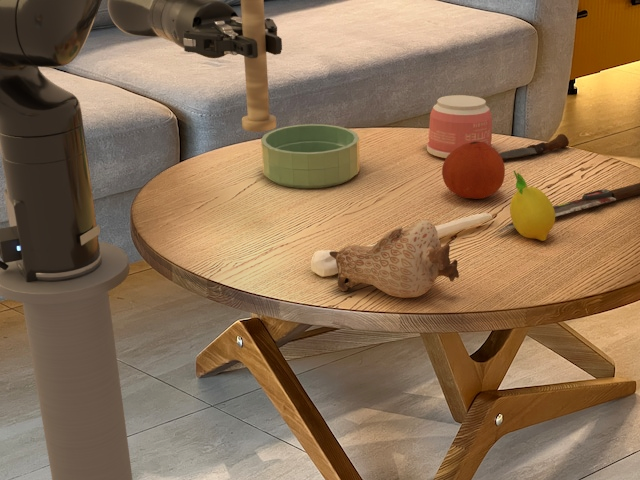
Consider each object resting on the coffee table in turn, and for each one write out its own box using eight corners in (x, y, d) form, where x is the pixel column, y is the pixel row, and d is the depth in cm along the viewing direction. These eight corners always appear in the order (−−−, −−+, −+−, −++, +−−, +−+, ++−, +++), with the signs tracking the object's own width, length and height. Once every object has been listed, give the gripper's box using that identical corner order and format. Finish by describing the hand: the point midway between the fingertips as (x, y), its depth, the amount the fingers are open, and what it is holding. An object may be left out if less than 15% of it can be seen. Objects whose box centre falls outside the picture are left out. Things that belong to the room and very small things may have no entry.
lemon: (547, 235, 136) (517, 162, 137) (512, 252, 140) (483, 181, 141) (575, 228, 141) (546, 157, 142) (541, 245, 145) (512, 176, 146)
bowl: (286, 196, 156) (284, 159, 154) (249, 167, 167) (246, 132, 165) (375, 179, 162) (375, 144, 160) (333, 152, 174) (333, 119, 171)
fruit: (450, 183, 161) (451, 130, 157) (509, 189, 158) (511, 135, 155) (433, 203, 153) (434, 148, 150) (495, 210, 151) (497, 154, 147)
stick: (249, 133, 139) (241, -11, 132) (237, 124, 143) (228, -17, 135) (281, 128, 141) (274, -14, 133) (268, 120, 145) (261, -20, 137)
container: (418, 104, 168) (417, 155, 171) (484, 111, 164) (482, 162, 168) (439, 90, 177) (438, 139, 180) (502, 96, 174) (500, 145, 177)
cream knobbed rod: (475, 215, 148) (475, 195, 147) (496, 222, 145) (496, 202, 144) (304, 271, 133) (302, 249, 132) (323, 280, 130) (321, 258, 129)
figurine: (456, 317, 125) (341, 306, 132) (475, 243, 129) (362, 236, 135) (431, 282, 118) (310, 272, 124) (451, 204, 121) (332, 199, 128)
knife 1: (563, 132, 176) (578, 138, 172) (563, 145, 177) (578, 151, 173) (468, 146, 171) (481, 153, 167) (469, 159, 172) (481, 166, 168)
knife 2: (497, 239, 142) (659, 192, 157) (497, 226, 141) (660, 179, 156) (483, 234, 144) (645, 188, 159) (483, 221, 143) (645, 176, 158)
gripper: (149, 2, 142) (215, 24, 130) (243, -10, 150) (313, 10, 138) (155, 59, 145) (219, 87, 133) (246, 45, 153) (315, 69, 141)
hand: (266, 48), depth 135 cm, fingers closed on stick, 2 cm apart
